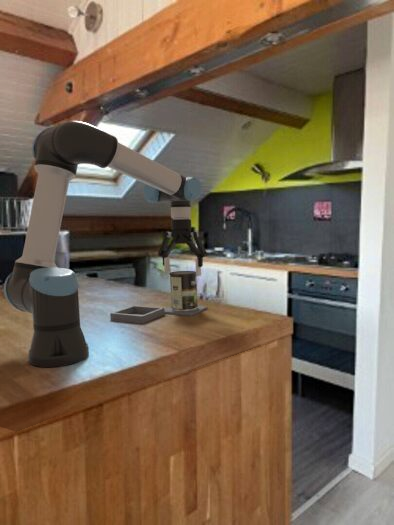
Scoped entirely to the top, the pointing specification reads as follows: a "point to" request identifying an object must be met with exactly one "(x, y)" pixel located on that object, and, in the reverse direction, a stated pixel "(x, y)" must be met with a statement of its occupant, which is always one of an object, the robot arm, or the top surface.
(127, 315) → the collar
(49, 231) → the robot arm
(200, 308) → the slate mat
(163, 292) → the top surface
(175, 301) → the coffee can
